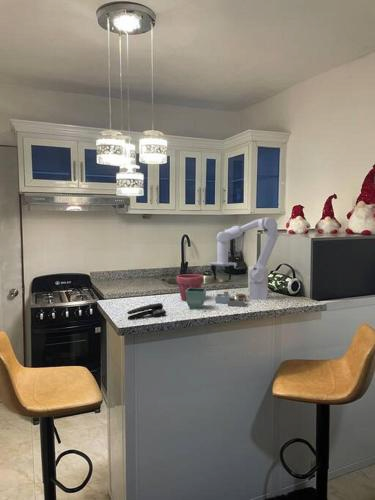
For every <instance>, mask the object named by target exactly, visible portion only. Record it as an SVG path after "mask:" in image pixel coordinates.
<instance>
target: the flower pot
mask: <svg viewBox="0 0 375 500" xmlns="http://www.w3.org/2000/svg"><path fill="white" fill-rule="evenodd" d="M185 292H186V300H187V301H186V303H187V306H188V308H189V309H191V310H193V309H202V307H203V305H204V303H205V301H206V296H207V293H206V292H207V288H202V287H201V288H188V289H187V290H186V291H185Z"/></svg>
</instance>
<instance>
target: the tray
mask: <svg viewBox="0 0 375 500" xmlns="http://www.w3.org/2000/svg"><path fill="white" fill-rule="evenodd" d="M245 303H246V302H245V298H238V301H234V298H230V299H228V304H227V307H239V308H241V307H242V308H244V307H245V306H246V305H245Z"/></svg>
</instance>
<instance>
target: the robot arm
mask: <svg viewBox="0 0 375 500" xmlns="http://www.w3.org/2000/svg"><path fill="white" fill-rule="evenodd" d="M255 228H262V229H263V230H264V231H265V233H266V235H267V237H266V240H265V242H264V245H263V247H262V249H261V252H260V254H259V257H258V259H257V261H256V263H255V264H254V265H253V266H254V268H253V269H252V270H251V271H250V273H249V276H250V278H251V280H250V292H249V296H248V299H249V300H268V296H269V292H268V293H267V283H266V282H264V281H263V280H264V277H265V276H264V274H265V267H267V264H268V262H269V260H270V257H271V256H272V252H273V250H274V247H275V245H276V243H277V240H278V237H279V230H278V223H277V221H276V219H275V218H273V217H272V216H269V217H267V216H264V217H262V218H257V219H255V220H252V221H250V222H248V223H246V224H244V225H241V226H238V225H233V226H232V227H231V228H228V229H227V228H226V229H224V231H220V232H218V233H217V235H216V240H217V243H216V244H217V248H216V249H217V252H216V253H217V255H216V257H217V260H216V261H210V262H208V267H210V268H211V271H212V274H213V278H214V280H215V281H216V280H217V267H229V268H228V271H229V273H228V274H229V275H228V276H229V277H228V281H231V279H232V274H233V271H234V268H236V267H237V262H232V261H229V241H231V240H234V239H236V238H239V237H240V236H242V235H243V233H244V232H248V231H249V230H250V231H251V230H253V229H255Z"/></svg>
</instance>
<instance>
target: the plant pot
mask: <svg viewBox="0 0 375 500" xmlns="http://www.w3.org/2000/svg"><path fill="white" fill-rule="evenodd" d="M176 284H178V290H179V294H180V298H181V300H182V301H185V302H187V300H186V292H185V291H186V290H187V289H188V288H202V284H204V276H203V274H196V273H194V274H189V273H188V274H187V273H186V274H178V275H177V276H176Z"/></svg>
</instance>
